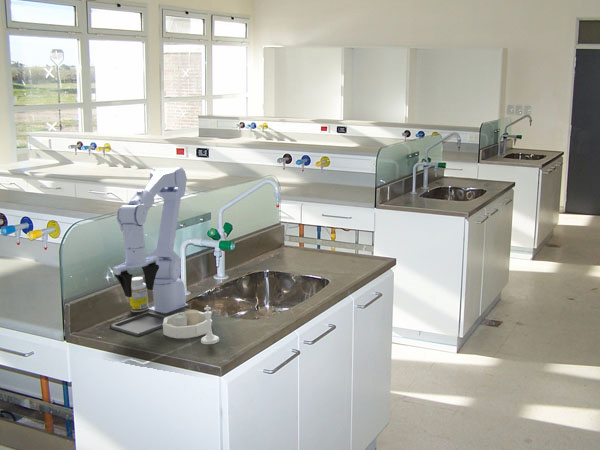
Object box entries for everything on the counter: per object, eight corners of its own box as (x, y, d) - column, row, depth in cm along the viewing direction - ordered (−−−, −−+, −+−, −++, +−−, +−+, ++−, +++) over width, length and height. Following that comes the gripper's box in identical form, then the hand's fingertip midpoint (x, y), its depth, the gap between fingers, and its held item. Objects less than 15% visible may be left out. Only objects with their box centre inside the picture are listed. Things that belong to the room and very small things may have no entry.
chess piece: (201, 338, 194) (198, 303, 192) (219, 337, 194) (216, 302, 192) (200, 345, 189) (197, 309, 187) (218, 343, 189) (216, 307, 187)
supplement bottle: (133, 307, 224) (130, 276, 221) (151, 307, 223) (148, 275, 221) (127, 313, 218) (124, 281, 216) (145, 313, 217) (142, 280, 215)
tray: (148, 315, 215) (148, 311, 215) (177, 322, 207) (176, 318, 207) (109, 329, 205) (109, 325, 204) (138, 337, 196) (138, 333, 196)
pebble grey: (177, 329, 200) (176, 313, 199) (190, 330, 199) (189, 314, 198) (170, 334, 197) (169, 318, 196) (183, 335, 195) (182, 319, 194)
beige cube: (185, 325, 203) (184, 310, 202) (200, 324, 203) (198, 309, 202) (184, 330, 199) (183, 314, 198) (199, 329, 199) (198, 313, 198)
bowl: (189, 320, 209) (188, 308, 208) (220, 328, 201) (220, 316, 200) (154, 333, 199) (153, 321, 198) (186, 342, 191) (185, 330, 190)
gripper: (146, 240, 209) (150, 284, 212) (104, 250, 198) (109, 297, 201) (161, 242, 205) (165, 287, 208) (120, 253, 194) (125, 301, 197)
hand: (139, 292), depth 204 cm, fingers open, 7 cm apart
